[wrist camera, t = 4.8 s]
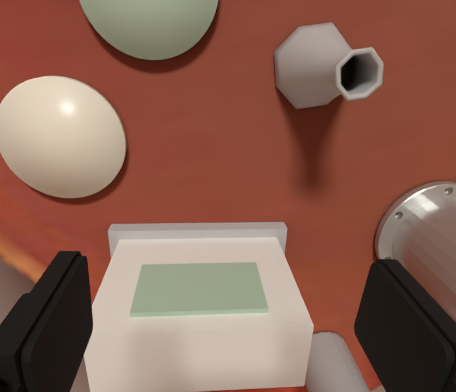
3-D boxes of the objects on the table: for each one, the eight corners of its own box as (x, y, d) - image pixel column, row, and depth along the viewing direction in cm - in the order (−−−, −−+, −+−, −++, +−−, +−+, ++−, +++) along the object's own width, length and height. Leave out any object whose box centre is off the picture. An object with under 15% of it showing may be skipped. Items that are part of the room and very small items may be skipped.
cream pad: (147, 118, 32) (145, 119, 31) (97, 212, 35) (95, 216, 34) (26, 49, 29) (20, 49, 28) (-16, 159, 32) (-22, 163, 31)
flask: (289, 121, 33) (325, 149, 24) (259, 46, 30) (286, 45, 21) (361, 86, 32) (426, 101, 23) (337, 6, 29) (400, -14, 20)
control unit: (111, 224, 35) (62, 323, 23) (283, 222, 37) (329, 314, 24) (118, 287, 39) (79, 407, 26) (277, 283, 40) (315, 394, 27)
